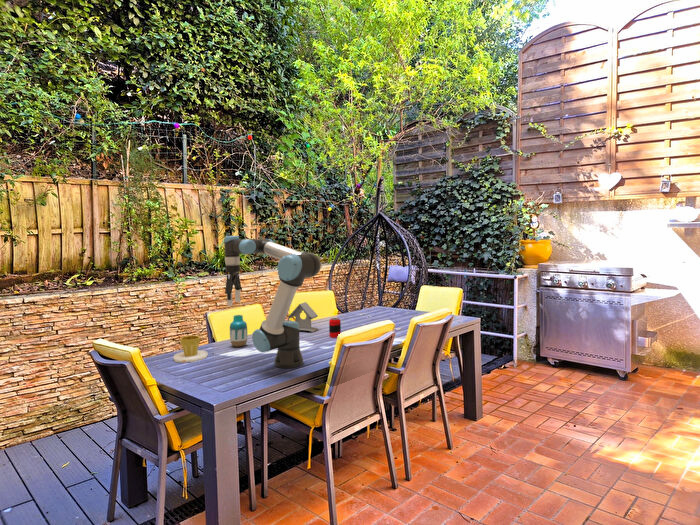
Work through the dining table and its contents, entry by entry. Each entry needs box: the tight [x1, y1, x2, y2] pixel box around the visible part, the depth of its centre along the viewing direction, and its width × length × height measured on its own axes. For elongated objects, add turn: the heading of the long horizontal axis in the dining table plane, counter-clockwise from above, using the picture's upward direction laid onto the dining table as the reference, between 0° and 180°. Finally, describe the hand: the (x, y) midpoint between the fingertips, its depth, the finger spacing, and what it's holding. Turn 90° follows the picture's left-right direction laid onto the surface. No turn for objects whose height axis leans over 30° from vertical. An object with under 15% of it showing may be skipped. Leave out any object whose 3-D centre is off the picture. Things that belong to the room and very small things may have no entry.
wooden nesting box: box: [287, 301, 319, 334], centre depth 306 cm, size 18×10×20 cm, turn 68°
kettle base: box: [173, 349, 208, 364], centre depth 243 cm, size 18×18×2 cm
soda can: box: [328, 317, 342, 339], centre depth 287 cm, size 8×8×12 cm
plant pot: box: [179, 334, 201, 356], centre depth 242 cm, size 10×10×10 cm
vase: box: [229, 314, 248, 348], centre depth 266 cm, size 11×11×19 cm
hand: (234, 303), depth 233 cm, fingers open, 13 cm apart
